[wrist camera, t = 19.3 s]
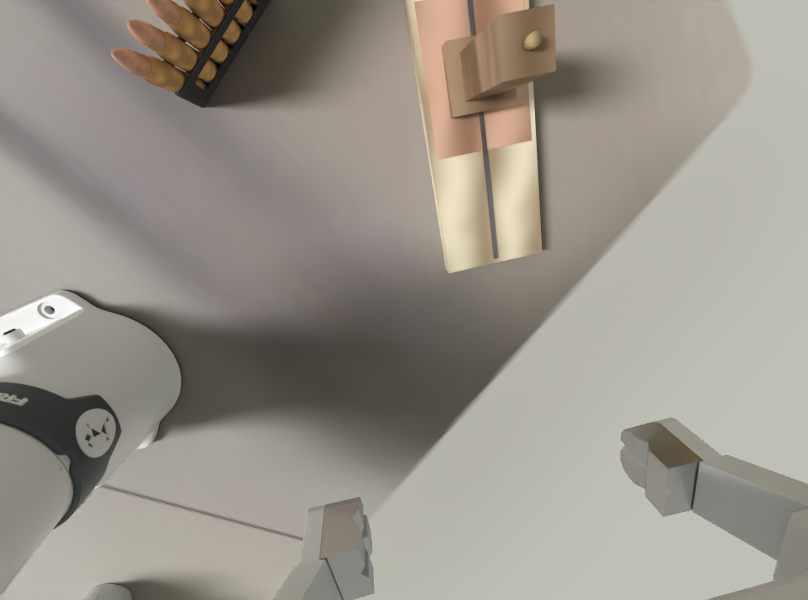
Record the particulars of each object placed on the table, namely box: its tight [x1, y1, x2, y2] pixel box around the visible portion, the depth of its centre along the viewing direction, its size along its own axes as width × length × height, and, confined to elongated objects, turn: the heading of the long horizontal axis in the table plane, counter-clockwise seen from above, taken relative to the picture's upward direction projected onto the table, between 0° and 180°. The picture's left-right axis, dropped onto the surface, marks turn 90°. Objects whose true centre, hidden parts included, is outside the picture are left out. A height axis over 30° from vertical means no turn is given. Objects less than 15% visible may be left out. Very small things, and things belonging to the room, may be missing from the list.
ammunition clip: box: [111, 0, 270, 107], centre depth 25 cm, size 11×2×12 cm, turn 140°
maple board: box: [404, 0, 542, 273], centre depth 35 cm, size 10×24×2 cm, turn 11°
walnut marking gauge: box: [442, 4, 556, 118], centre depth 27 cm, size 6×6×11 cm
